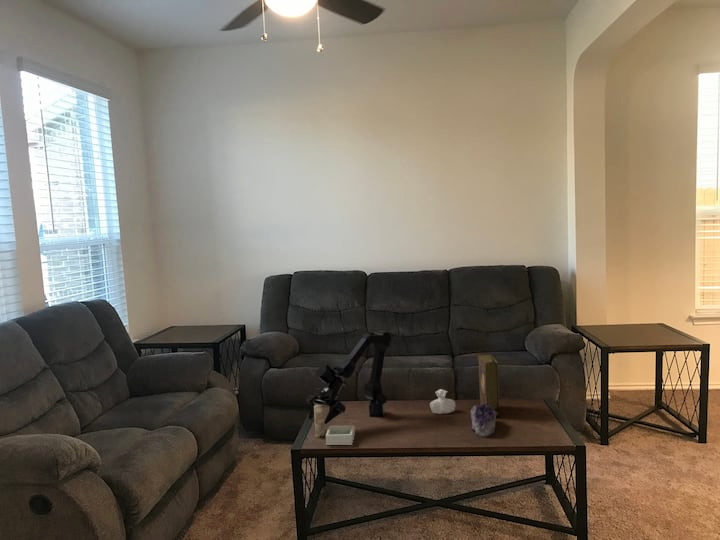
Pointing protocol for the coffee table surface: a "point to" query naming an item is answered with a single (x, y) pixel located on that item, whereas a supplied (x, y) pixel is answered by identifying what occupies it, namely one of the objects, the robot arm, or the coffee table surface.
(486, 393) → the book
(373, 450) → the coffee table surface
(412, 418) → the coffee table surface
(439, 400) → the white rounded necked piece
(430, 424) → the coffee table surface
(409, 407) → the coffee table surface
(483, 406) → the geode
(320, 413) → the peg
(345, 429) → the bore box
